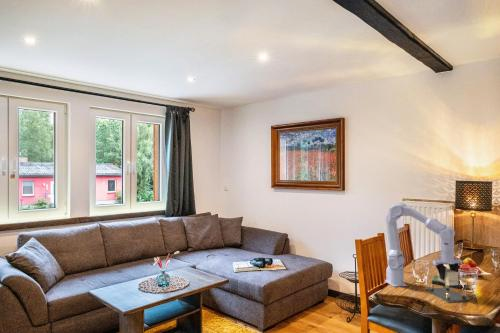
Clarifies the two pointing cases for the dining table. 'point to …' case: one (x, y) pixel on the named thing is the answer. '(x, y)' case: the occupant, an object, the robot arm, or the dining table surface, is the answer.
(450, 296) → the chassis
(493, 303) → the dining table surface
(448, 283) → the module block
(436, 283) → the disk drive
